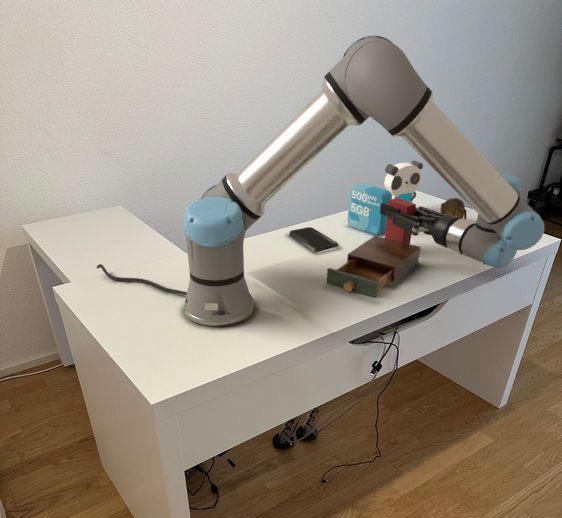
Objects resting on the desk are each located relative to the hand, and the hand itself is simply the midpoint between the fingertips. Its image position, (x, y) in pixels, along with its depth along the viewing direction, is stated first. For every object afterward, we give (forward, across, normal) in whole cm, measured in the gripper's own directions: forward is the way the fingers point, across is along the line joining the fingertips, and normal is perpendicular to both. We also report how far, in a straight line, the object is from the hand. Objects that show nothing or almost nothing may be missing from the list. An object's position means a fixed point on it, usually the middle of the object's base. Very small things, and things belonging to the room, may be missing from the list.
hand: (386, 207), depth 146 cm
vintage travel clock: (-1, +28, -11) cm, 30 cm away
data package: (+11, +5, -11) cm, 16 cm away
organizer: (-12, -12, -11) cm, 20 cm away
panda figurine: (+17, +24, -11) cm, 31 cm away
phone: (+13, -15, -11) cm, 22 cm away
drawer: (-16, -22, -10) cm, 29 cm away
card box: (-5, 0, -10) cm, 11 cm away
